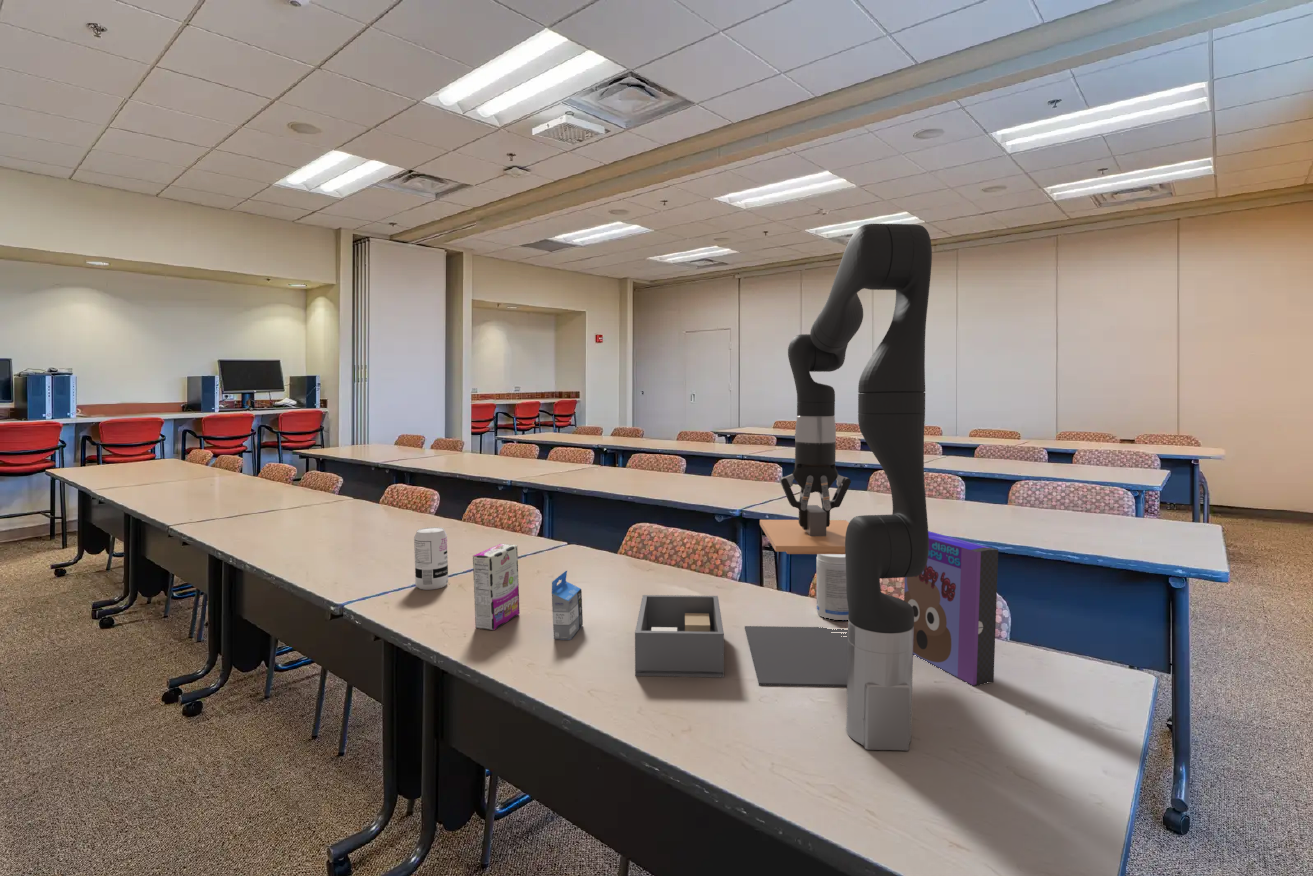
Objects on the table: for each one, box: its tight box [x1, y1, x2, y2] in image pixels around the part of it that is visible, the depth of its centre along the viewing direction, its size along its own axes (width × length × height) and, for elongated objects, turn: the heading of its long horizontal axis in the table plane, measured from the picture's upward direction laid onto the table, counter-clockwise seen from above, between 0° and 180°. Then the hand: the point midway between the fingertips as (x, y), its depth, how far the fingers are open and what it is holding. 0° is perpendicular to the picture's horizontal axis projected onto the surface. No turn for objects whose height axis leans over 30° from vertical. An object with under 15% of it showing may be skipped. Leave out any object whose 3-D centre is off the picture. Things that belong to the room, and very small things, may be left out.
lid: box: [759, 504, 850, 555], centre depth 127 cm, size 18×24×6 cm
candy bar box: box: [472, 543, 520, 631], centre depth 147 cm, size 11×5×16 cm, turn 161°
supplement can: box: [413, 526, 449, 591], centre depth 174 cm, size 8×8×15 cm
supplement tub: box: [816, 554, 848, 621], centre depth 151 cm, size 10×10×15 cm
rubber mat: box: [744, 625, 848, 688], centre depth 129 cm, size 28×24×1 cm
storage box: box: [634, 594, 725, 678], centre depth 130 cm, size 16×22×8 cm
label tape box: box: [551, 570, 584, 641], centre depth 141 cm, size 9×4×12 cm, turn 168°
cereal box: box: [903, 530, 999, 687], centre depth 123 cm, size 17×5×24 cm, turn 21°
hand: (814, 528), depth 127 cm, fingers closed on lid, 3 cm apart
